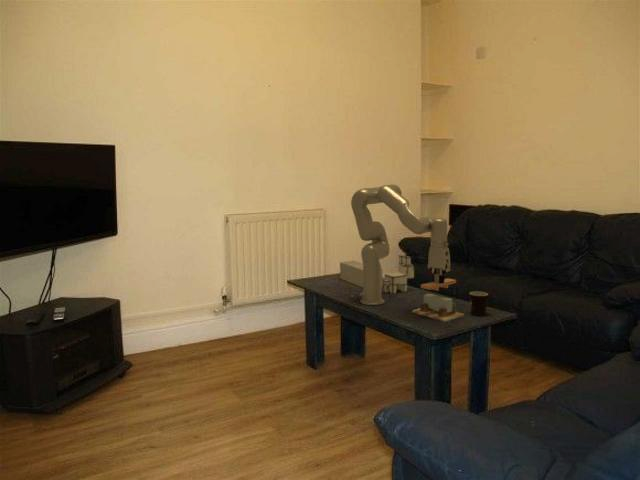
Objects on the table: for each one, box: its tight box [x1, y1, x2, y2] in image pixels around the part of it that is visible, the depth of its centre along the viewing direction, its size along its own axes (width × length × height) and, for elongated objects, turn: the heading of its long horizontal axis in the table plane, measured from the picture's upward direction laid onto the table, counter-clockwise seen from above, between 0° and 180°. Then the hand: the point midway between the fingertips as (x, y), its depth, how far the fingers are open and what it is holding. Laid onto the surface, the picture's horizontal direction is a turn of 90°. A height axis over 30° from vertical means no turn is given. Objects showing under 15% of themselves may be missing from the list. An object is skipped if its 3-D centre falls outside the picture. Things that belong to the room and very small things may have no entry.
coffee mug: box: [469, 290, 489, 317], centre depth 247 cm, size 12×9×10 cm
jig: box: [411, 302, 465, 323], centre depth 247 cm, size 20×14×4 cm
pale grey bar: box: [423, 293, 453, 313], centre depth 247 cm, size 14×4×6 cm, turn 39°
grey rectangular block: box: [339, 260, 384, 288], centre depth 315 cm, size 32×11×11 cm, turn 28°
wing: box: [420, 272, 457, 291], centre depth 245 cm, size 5×20×7 cm, turn 128°
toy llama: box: [383, 254, 415, 295], centre depth 290 cm, size 8×18×20 cm, turn 119°
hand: (438, 282), depth 245 cm, fingers closed on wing, 3 cm apart
